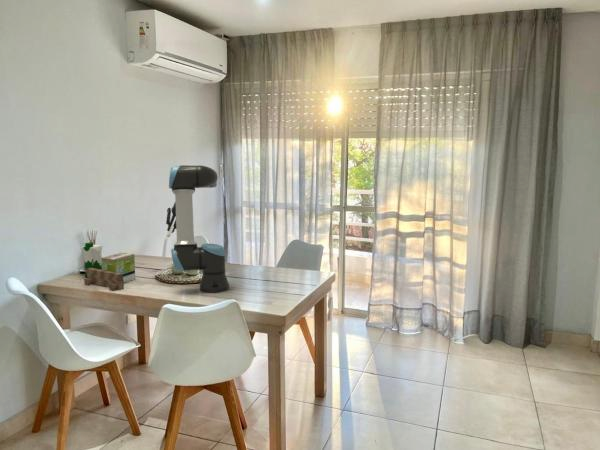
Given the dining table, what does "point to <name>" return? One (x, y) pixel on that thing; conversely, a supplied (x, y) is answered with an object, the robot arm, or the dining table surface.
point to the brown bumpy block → (104, 279)
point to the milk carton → (92, 256)
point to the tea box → (120, 265)
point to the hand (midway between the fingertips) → (168, 236)
